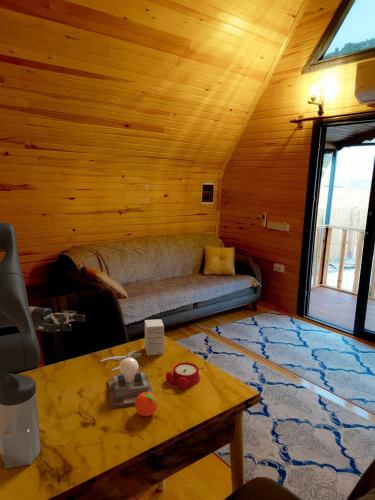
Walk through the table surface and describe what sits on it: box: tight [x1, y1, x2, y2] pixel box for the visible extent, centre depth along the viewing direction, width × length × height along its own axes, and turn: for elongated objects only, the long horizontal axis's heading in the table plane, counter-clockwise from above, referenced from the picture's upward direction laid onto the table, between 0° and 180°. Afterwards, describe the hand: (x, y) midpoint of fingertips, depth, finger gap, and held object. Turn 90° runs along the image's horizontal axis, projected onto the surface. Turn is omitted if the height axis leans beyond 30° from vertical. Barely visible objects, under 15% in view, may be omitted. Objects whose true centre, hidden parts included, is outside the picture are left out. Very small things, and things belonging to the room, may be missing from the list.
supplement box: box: [144, 319, 165, 356], centre depth 154 cm, size 7×7×13 cm
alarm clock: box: [165, 361, 204, 390], centre depth 133 cm, size 10×6×15 cm
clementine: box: [134, 392, 159, 417], centre depth 114 cm, size 8×7×7 cm
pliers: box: [99, 349, 142, 372], centre depth 147 cm, size 10×2×15 cm
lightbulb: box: [118, 357, 139, 388], centre depth 125 cm, size 6×6×11 cm
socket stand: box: [107, 370, 154, 409], centre depth 126 cm, size 16×14×4 cm
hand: (78, 322), depth 123 cm, fingers open, 8 cm apart
